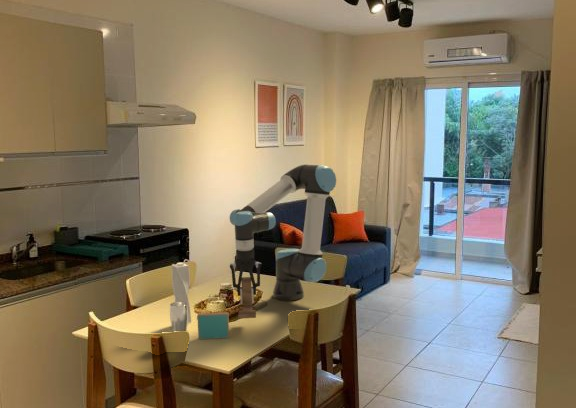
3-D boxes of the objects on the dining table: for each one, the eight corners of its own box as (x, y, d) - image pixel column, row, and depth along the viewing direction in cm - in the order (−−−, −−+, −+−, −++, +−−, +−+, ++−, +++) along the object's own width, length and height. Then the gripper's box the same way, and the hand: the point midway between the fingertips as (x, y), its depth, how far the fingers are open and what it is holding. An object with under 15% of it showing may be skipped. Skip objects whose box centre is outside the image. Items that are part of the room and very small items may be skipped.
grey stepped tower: (239, 305, 240) (238, 277, 238) (255, 304, 240) (254, 276, 238) (238, 318, 224) (237, 289, 222) (256, 317, 224) (254, 288, 222)
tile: (229, 336, 224) (228, 312, 223) (228, 338, 222) (228, 314, 221) (198, 337, 224) (197, 313, 222) (198, 339, 221) (197, 315, 220)
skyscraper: (195, 321, 242) (192, 257, 237) (188, 327, 234) (185, 262, 230) (178, 320, 243) (175, 257, 239) (171, 326, 236) (168, 261, 232)
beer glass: (167, 340, 220) (165, 304, 218) (182, 336, 225) (181, 300, 223) (177, 345, 215) (175, 308, 213) (192, 340, 220) (191, 303, 218)
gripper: (223, 252, 230) (226, 306, 233) (265, 250, 231) (267, 304, 234) (224, 247, 237) (227, 300, 241) (265, 245, 238) (267, 298, 242)
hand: (247, 302), depth 238 cm, fingers closed on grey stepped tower, 4 cm apart
